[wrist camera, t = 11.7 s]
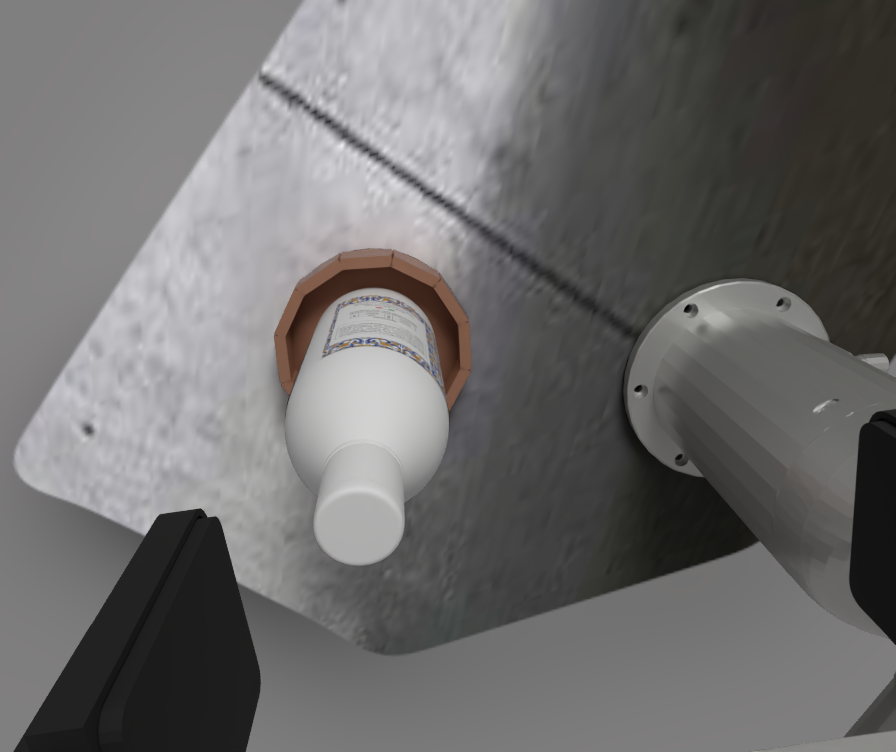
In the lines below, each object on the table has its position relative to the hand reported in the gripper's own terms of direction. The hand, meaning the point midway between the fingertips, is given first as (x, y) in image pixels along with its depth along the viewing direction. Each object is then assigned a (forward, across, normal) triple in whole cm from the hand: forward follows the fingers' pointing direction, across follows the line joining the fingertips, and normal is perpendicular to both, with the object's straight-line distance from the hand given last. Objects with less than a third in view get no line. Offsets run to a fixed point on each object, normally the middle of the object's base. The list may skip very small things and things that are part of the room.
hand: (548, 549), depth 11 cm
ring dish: (+32, +4, +6) cm, 33 cm away
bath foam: (+32, +4, +6) cm, 32 cm away
